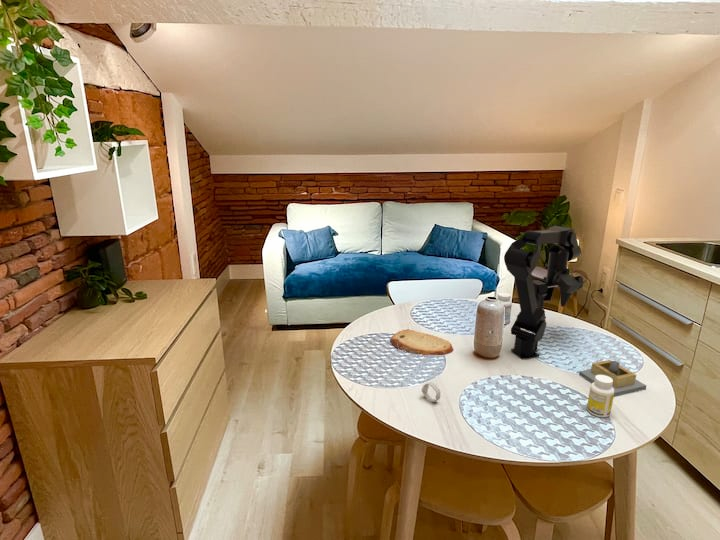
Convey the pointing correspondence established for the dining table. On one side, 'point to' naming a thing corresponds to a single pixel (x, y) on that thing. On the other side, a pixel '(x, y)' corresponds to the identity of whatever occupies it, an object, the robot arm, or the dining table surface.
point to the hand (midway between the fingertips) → (551, 308)
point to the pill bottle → (506, 305)
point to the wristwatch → (425, 390)
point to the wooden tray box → (620, 379)
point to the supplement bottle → (601, 396)
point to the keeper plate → (616, 390)
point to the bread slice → (421, 343)
